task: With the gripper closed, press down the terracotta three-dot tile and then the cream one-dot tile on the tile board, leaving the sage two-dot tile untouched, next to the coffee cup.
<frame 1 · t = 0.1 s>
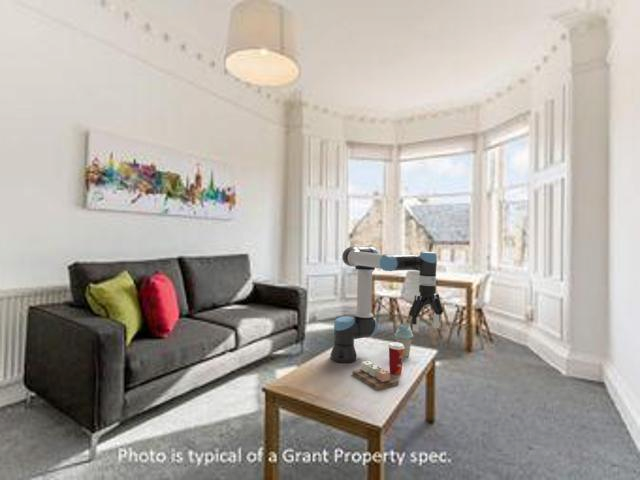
hand: (426, 329, 166), 28 cm above the table, fingers open, 13 cm apart
coffee cup: (395, 372, 184), on the table
tile board: (374, 379, 174), on the table
tile one: (367, 366, 180), point 4 cm above the table, slide at 0.0 cm
tile two: (375, 370, 174), point 4 cm above the table, slide at 0.0 cm
ice cream cone: (403, 355, 211), on the table
tile three: (383, 375, 169), point 4 cm above the table, slide at 0.0 cm
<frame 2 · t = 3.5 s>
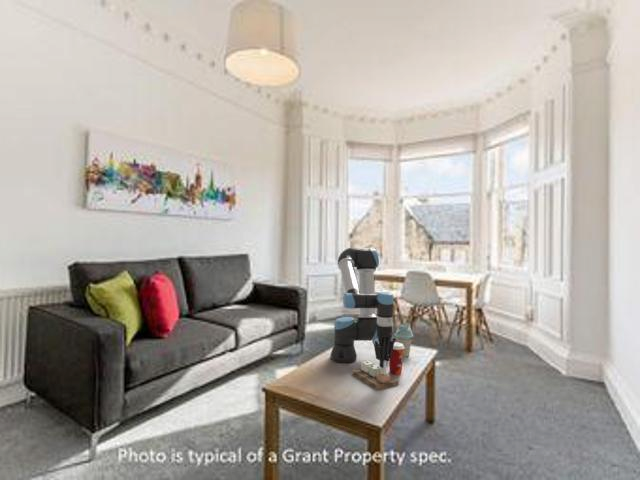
hand: (383, 373, 169), 5 cm above the table, fingers closed
tile three: (383, 378, 169), point 3 cm above the table, slide at 1.5 cm, touching gripper
everything else where it was.
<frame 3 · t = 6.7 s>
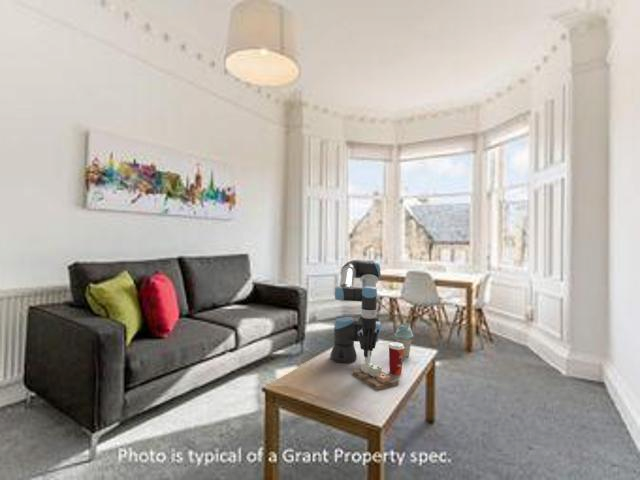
hand: (367, 362, 179), 6 cm above the table, fingers closed
tile one: (367, 367, 180), point 4 cm above the table, slide at 0.5 cm, touching gripper
tile three: (383, 379, 169), point 2 cm above the table, slide at 2.1 cm
everything else where it was.
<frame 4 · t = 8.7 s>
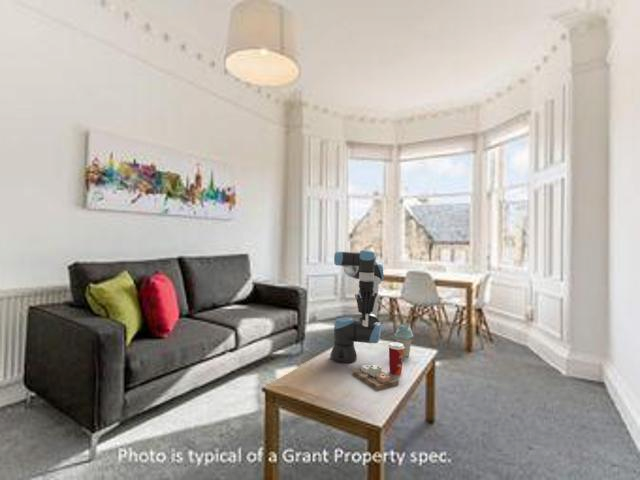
hand: (365, 325, 180), 25 cm above the table, fingers closed
tile one: (367, 370, 180), point 2 cm above the table, slide at 2.1 cm
everything else where it was.
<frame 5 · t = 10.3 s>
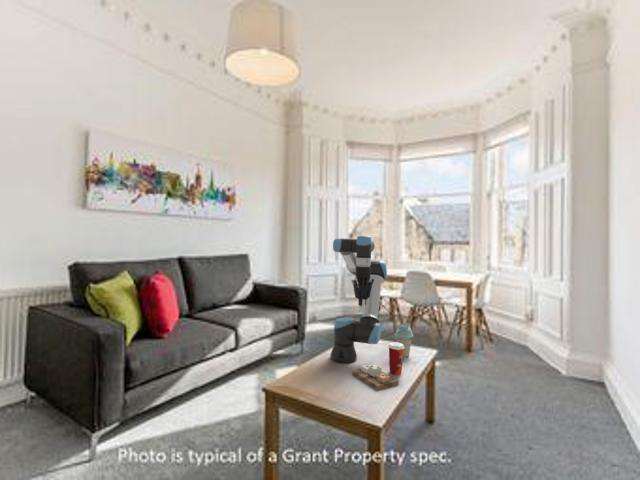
hand: (362, 311, 179), 32 cm above the table, fingers closed
nothing on the table moved.
at the end: tile three slide at 2.1 cm; tile one slide at 2.1 cm; tile two slide at 0.0 cm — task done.
